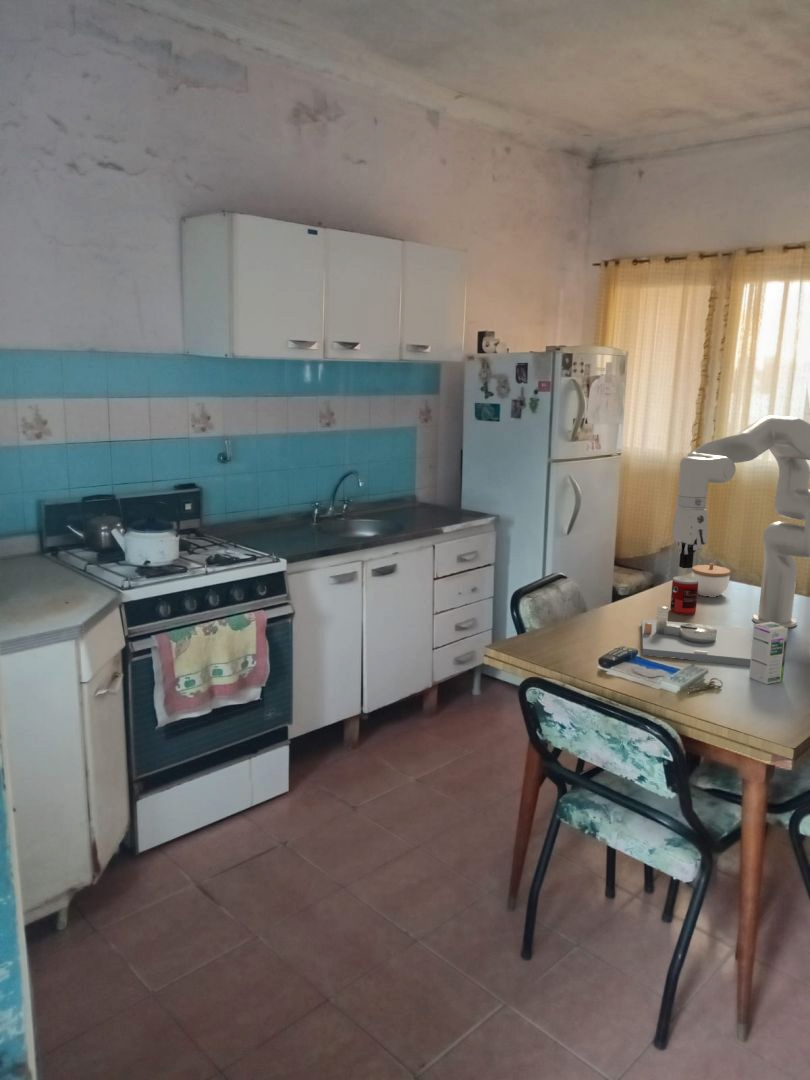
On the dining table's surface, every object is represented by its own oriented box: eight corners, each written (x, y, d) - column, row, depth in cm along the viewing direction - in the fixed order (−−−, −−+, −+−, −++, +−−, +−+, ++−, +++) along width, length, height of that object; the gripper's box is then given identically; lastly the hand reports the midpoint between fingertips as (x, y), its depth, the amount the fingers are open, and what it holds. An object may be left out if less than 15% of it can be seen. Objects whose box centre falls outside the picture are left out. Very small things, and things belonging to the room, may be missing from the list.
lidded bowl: (684, 594, 287) (686, 563, 284) (697, 587, 296) (700, 557, 294) (720, 601, 279) (723, 570, 276) (733, 594, 288) (736, 563, 286)
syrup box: (766, 685, 205) (772, 629, 202) (747, 677, 211) (753, 622, 208) (783, 681, 208) (789, 627, 205) (764, 673, 213) (770, 620, 210)
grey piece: (717, 635, 237) (720, 610, 235) (714, 645, 228) (716, 619, 226) (658, 626, 244) (660, 602, 242) (652, 636, 235) (654, 611, 233)
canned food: (674, 606, 272) (677, 574, 269) (698, 611, 267) (701, 578, 265) (666, 612, 266) (669, 579, 263) (691, 616, 261) (694, 583, 259)
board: (641, 625, 252) (642, 609, 251) (746, 634, 244) (748, 618, 243) (642, 655, 225) (643, 638, 224) (760, 667, 218) (762, 649, 217)
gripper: (720, 506, 218) (713, 573, 222) (687, 497, 233) (682, 560, 236) (695, 507, 216) (689, 574, 220) (664, 498, 231) (659, 561, 234)
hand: (685, 567), depth 228 cm, fingers closed
